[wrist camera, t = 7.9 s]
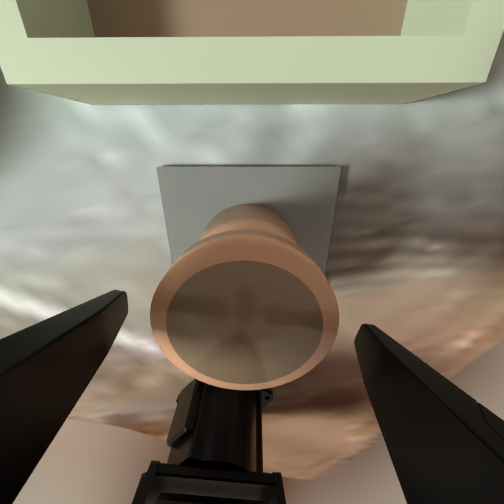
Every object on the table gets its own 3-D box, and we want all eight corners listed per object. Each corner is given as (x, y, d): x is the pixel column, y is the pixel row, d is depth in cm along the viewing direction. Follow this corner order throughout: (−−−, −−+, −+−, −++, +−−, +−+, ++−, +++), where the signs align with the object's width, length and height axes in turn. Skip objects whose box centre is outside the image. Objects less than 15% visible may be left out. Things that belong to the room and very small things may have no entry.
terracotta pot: (311, 201, 13) (363, 252, 7) (293, 298, 16) (319, 397, 10) (192, 192, 13) (135, 237, 7) (195, 292, 16) (158, 389, 10)
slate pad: (316, 309, 17) (318, 314, 17) (182, 308, 17) (180, 313, 17) (337, 166, 13) (341, 167, 12) (160, 165, 13) (156, 167, 13)
